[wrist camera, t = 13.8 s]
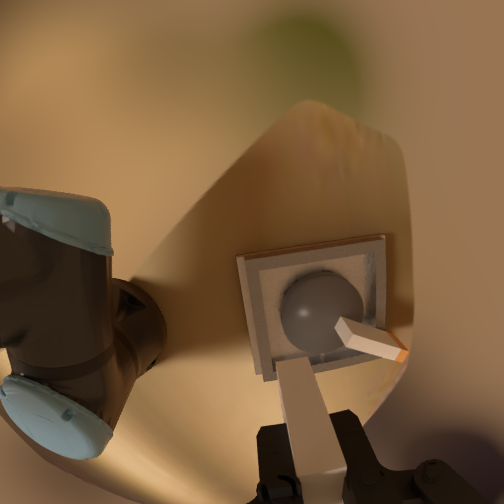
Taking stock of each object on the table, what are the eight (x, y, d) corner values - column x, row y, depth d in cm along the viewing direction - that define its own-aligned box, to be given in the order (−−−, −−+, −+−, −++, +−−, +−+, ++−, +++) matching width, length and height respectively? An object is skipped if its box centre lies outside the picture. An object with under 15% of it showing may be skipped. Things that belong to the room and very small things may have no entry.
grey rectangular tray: (255, 370, 43) (256, 382, 41) (236, 255, 39) (235, 261, 36) (381, 346, 44) (388, 355, 41) (382, 233, 39) (391, 238, 36)
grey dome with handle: (266, 331, 41) (272, 361, 34) (301, 259, 39) (314, 277, 31) (366, 361, 43) (384, 389, 36) (401, 300, 41) (426, 321, 33)
